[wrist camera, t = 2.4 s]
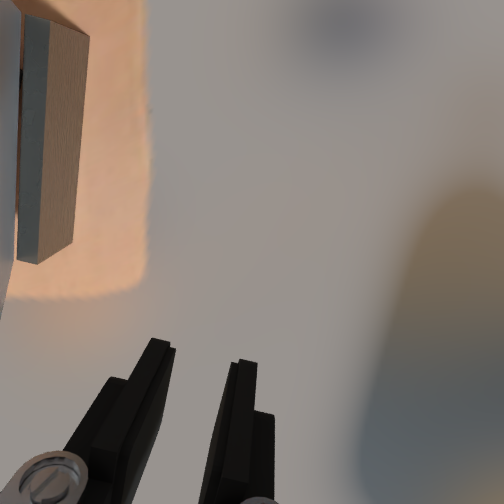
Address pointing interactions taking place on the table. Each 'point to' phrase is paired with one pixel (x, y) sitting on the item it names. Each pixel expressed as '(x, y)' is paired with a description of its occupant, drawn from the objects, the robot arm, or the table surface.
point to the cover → (8, 135)
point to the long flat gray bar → (50, 136)
